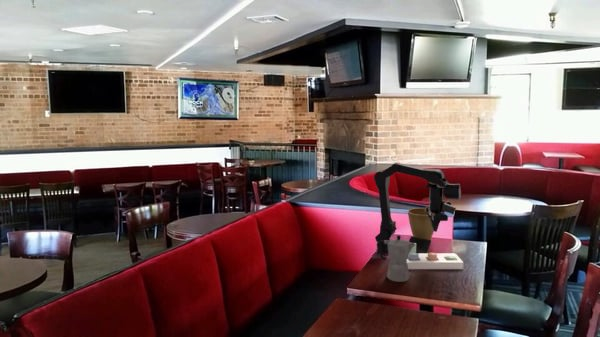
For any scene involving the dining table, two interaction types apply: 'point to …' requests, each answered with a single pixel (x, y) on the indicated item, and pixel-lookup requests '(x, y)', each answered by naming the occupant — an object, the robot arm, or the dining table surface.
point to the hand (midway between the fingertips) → (435, 231)
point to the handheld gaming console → (420, 244)
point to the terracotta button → (432, 256)
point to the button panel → (434, 261)
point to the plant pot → (420, 223)
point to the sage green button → (450, 258)
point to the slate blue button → (413, 256)
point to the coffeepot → (397, 258)
